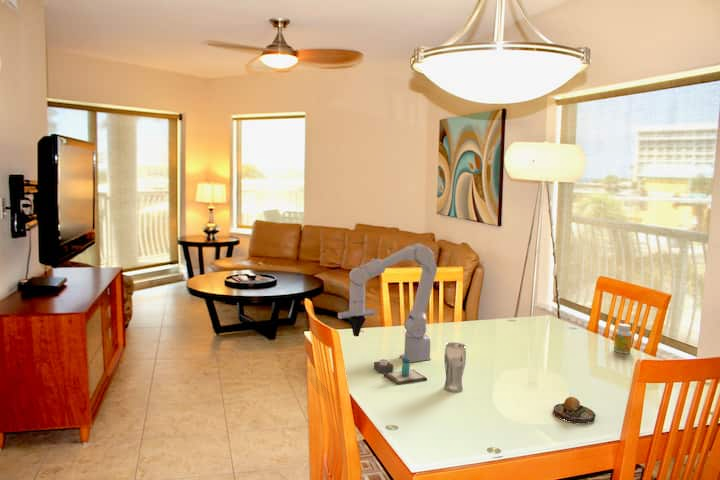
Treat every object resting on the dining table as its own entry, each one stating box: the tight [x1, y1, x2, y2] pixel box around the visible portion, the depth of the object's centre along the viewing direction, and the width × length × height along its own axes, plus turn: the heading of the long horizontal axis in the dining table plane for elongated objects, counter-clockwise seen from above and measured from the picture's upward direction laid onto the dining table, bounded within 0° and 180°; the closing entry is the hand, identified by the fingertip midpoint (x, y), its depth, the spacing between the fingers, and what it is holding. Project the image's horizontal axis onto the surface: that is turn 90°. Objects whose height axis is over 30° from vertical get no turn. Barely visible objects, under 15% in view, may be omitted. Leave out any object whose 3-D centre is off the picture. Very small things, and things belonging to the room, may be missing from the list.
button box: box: [373, 360, 394, 375], centre depth 209 cm, size 5×5×3 cm
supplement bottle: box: [613, 323, 633, 354], centre depth 242 cm, size 6×6×11 cm
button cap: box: [379, 358, 389, 366], centre depth 209 cm, size 3×3×3 cm
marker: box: [401, 357, 411, 377], centre depth 202 cm, size 3×3×6 cm
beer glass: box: [443, 342, 467, 393], centre depth 193 cm, size 7×7×15 cm
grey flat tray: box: [383, 369, 428, 386], centre depth 202 cm, size 12×9×1 cm
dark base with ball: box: [552, 396, 596, 424], centre depth 175 cm, size 12×12×8 cm
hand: (355, 335), depth 218 cm, fingers closed
